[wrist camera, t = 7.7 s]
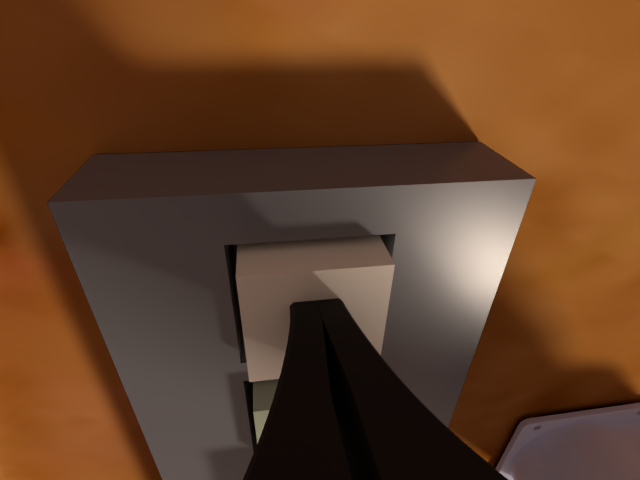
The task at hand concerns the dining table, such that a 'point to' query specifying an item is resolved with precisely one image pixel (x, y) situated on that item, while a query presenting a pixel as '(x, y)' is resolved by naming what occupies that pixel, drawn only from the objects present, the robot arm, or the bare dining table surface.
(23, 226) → the dining table surface
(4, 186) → the dining table surface
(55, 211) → the keypad board
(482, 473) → the robot arm
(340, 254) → the key ivory
